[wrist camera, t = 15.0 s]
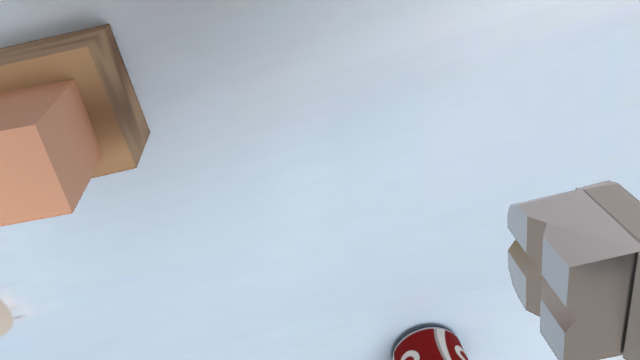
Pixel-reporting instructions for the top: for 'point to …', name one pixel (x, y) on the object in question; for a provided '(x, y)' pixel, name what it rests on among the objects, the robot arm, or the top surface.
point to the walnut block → (86, 88)
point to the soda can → (429, 346)
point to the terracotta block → (44, 152)
